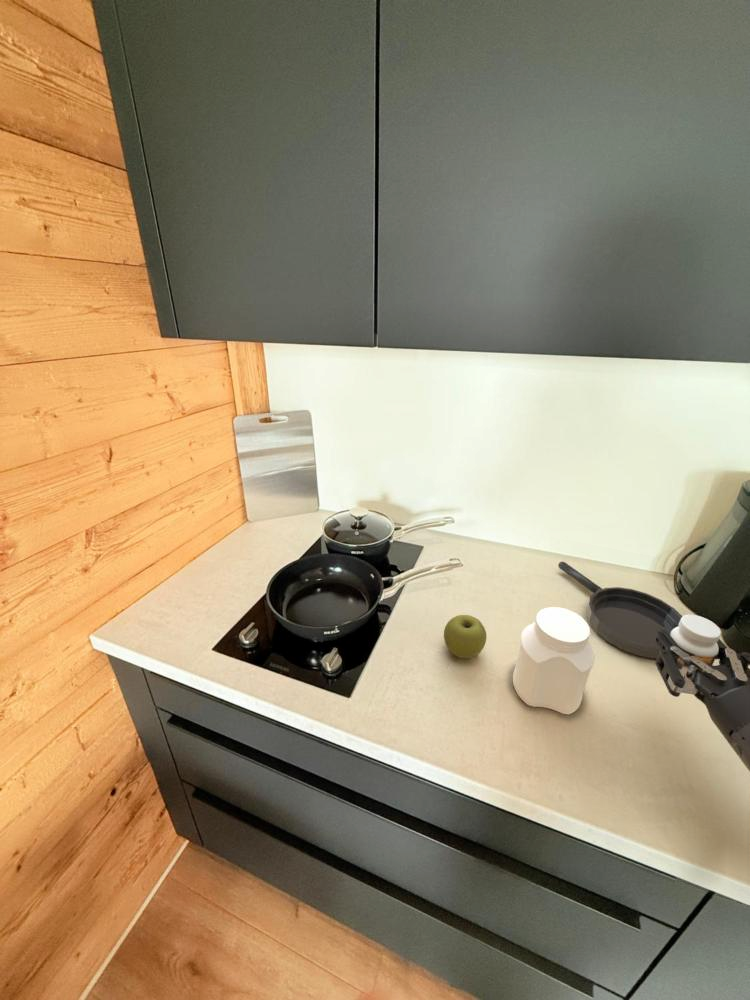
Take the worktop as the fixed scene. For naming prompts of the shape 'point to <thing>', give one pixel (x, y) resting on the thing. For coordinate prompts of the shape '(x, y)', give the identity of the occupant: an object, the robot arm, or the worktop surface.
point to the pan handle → (579, 577)
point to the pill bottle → (697, 638)
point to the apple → (465, 636)
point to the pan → (631, 619)
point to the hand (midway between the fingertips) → (681, 634)
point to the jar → (554, 661)
